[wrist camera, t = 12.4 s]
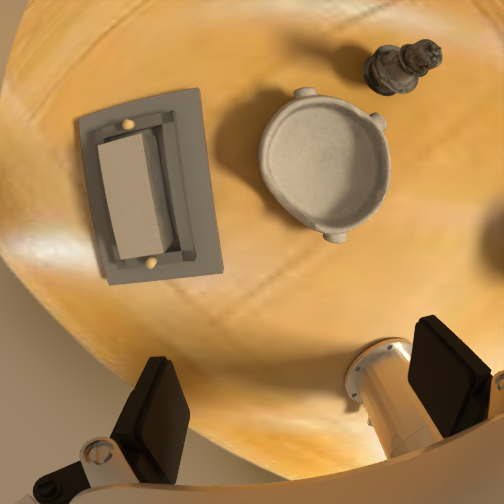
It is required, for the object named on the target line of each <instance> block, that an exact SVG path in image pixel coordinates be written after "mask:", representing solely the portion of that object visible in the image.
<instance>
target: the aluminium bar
mask: <svg viewBox="0 0 504 504" xmlns="http://www.w3.org/2000/svg"><path fill="white" fill-rule="evenodd" d="M98 152H99V159H100V165H101V171H102V177H103V183H104V188H105V193H106V198H107V203H108V208H109V213H110V217H111V222H112V226H113V231H114V235H115V239H116V243H117V247H118V251H119V255H120V258H121V260H122V259H129V258H135V257H141V256H148V255H154V254H161V253H164V252H165V251H166V250H167V248H168V247H169V246H170V245H171V243H172V242H173V241H174V239H175V235H174V230H173V226H172V221H171V216H170V210H169V205H168V200H167V194H166V189H165V183H164V177H163V171H162V165H161V159H160V153H159V146H158V140H157V137H156V136H152V135H148V134H143V133H140V134H136V135H133V136H129V137H125V138H122V139H118V140H115V141H111V142H108V143H105V144H101V145H98Z"/></svg>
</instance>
